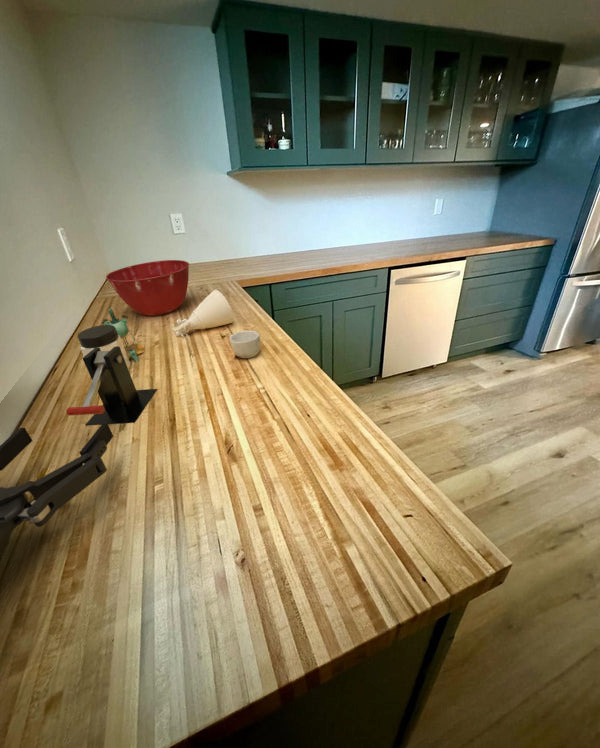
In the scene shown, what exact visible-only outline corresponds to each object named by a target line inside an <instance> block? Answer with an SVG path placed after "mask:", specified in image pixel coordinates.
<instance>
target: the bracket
mask: <svg viewBox="0 0 600 748" xmlns="http://www.w3.org/2000/svg"><path fill="white" fill-rule="evenodd" d="M98 351H101V350H100V348H94V349H93V350H92V351H90V352H89V353H88V354H87V355H86V356H84V355H83V357H82V361H83V363H84V366H85V367H86V369H87V372H88V374H89V376H90V378H91V381H92V380H93V378H94V375H95V372H96V370H97V366H96V365H95V364H94V360H95V358H96V355H97V353H98ZM104 360H105V362H106V365H107V367H108V369H109V370H105V373H104V376H103V379H102V381H101V384H100V387H99V389H98V392H97V394H98V397H99V398H100V400H101V403H102V406H104V408H105V411H104V413H103V414H92V416H91V417H90V418H89V420H88V421H87V422H86V423H85V425H84V426H86V427H88V426H89V427H90V426H101V425H102V424H103V423H108V425H119V424H121V425H122V424H136V422H137V421H138V419H139V418H140V417H141V415H142V413H143V412H144V410H145V409H146V408H147V406H148V404H149V403H150V401H151V400H152V399H153V397H154V396H155V394H156V393H157V392H158V388H150V389H148V388H147V389H136V386H135V383H134V381H133V379H132V376H131V372H130V371H129V370H130V369H129V370H128V367H127V365H126V362H125V360H124V357H123V354H122V352H121V349H120V347H119V346H116V347H114V348H112V349H111V350H110V351H109V352H108V353H107V354H106V355H105V356H104Z"/></svg>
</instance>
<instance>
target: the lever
mask: <svg viewBox="0 0 600 748" xmlns="http://www.w3.org/2000/svg"><path fill="white" fill-rule="evenodd" d="M108 352H109V351H98V353H97V355H96V358H95V360H94V364H95V365H96V366H97V370H96V372H95V375H94V378H93V380H92V379H91V383H90V386H89V388H88V391H87V393H86V396H85V397H84V400H83V403H82V406H69V407H67V409H66V410H65V411H66V415H67V416H71V417H72V416H87V415H88V416H89V415H94V414H103V413H104V411H105V408H104V406H102V405H103V404H102V405H101V404H100V405H94V402H95V400H96V397H97V394H98V389H99V387H100V384H101V381H102V379H103V376H104V373H105V370H109V369H108V367H107V365H106V362H105V360H104V356H105V355H106V354H107V353H108Z"/></svg>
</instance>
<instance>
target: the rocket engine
mask: <svg viewBox="0 0 600 748" xmlns="http://www.w3.org/2000/svg"><path fill="white" fill-rule="evenodd" d="M175 322H176V324H177V326H176V327H173V328H172V332H174V335H175V336H176V337H179V336H181V338H185V336H186V338H189V337H190V336H189V334H188V332H189V331H190V330H205V329H210V328H211V329H212V328H216V327H221V326H225V325H226V326H227V325H228V324H232V323H234V322H235V315H234V311H233V309H232V307H231V304H230V303H229V301H228V300H227V298H226V297H225V296H224V294H223V293H222V292H221V291H220V290H218V289H214V290H213V291H212V292H210V293H209V294H208V295H207V296H206V297H205V298H204V299H203V300H202V301H201V302H200V303H199V305H198V306H197V307H196V308H195V309H194V310H192V311H191V314H190V316H189V317H188V319H187V318H184V319H182V320H181V318H179V319H176V321H175Z"/></svg>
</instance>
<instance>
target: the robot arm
mask: <svg viewBox="0 0 600 748" xmlns="http://www.w3.org/2000/svg"><path fill="white" fill-rule="evenodd" d="M109 425H110V424H108V423H103V424H102V425H99V427H98V429H97V430H96V431H95V432H94V433H93V435H92V436H91V437H90V438H89V440H88V441H87V442H86V443H85V445H84V446H83V447H82V448H81V449H80V451H79V455H80V456H79V457H76V458H75V459H72V460H71V461H69V462H67V463H66V464H64V465H62V466H60V467H58V468H56V469H55V470H53V471H51V472H49V473H47V474H45V475H44V476H42V477H40V478H38V479H37V480H28V481H26V482H24V483H22V484H20V485H19V486H10V487H3V486H0V556H1V555H3V553H4V551H5V550H6V549H7V548H8V546H9V543H10V539H11V535H12V533H13V531H14V530H15V529H16V528H17V527H18V526H19V525H21V524H22V523H23V522H33V523H34V525H35V526H36V528H37V527H38V528H40V527H43V526H44V525H45V524H47V522H49V520H50V519H51V518H52V517H53V516H54V515H55V513H56V512H57V511H58V510H60V509H61V508H62V507H63V506H65V505H66V504H67V503H69V502H70V501H71V500H72V499H74V498H75V497H76V496H77V495H79V494H81V492H82V491H84V490H85V489H86V488H88V487H89V486H90V485H91V484H92V483H94V482H95V481H96V480H98V479H99V478H100V477H101V476H103V475H104V474H105V473H106V472H107V471H108V468H107V466H106V465H105V462H104V461H103V460H104V459H102V457H103V456H104V454H105V453H106V451H107V450H108V445H109V443H110V442H111V441H112V439H113V438H114V434H113V432H112V430H111V427H110V426H109ZM32 442H33V439H32V437H31V436H30V434H29V433H28V431H27V429H26V428H25V427H19V428H18V429H17V430H16V431H15V432H14V433H12V434H11V435H10V436H9V437H8V438H7V439H6V440H5V441H3V443H1V444H0V472H1V471H3V470H4V469H5V468H6V467H7V466H8V465H9V464H10V463H12V461H14V460H15V458H17V457H18V455H20V454H21V453H22V451H24V450H25V449H26V448H27V447H28V446H30V444H31V443H32ZM28 492H29V493H30V494H31V495H32V497H33V499H31V500H30V501H29V495H27V493H28Z"/></svg>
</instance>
